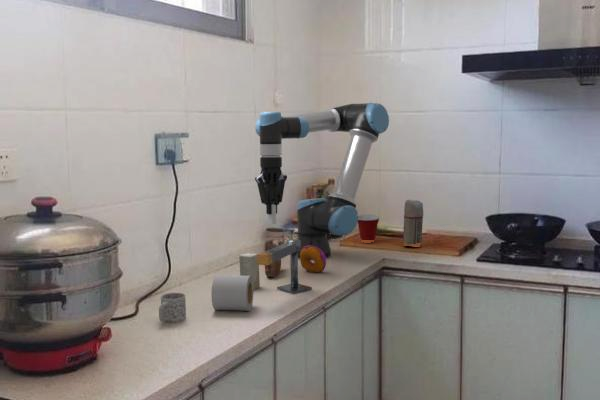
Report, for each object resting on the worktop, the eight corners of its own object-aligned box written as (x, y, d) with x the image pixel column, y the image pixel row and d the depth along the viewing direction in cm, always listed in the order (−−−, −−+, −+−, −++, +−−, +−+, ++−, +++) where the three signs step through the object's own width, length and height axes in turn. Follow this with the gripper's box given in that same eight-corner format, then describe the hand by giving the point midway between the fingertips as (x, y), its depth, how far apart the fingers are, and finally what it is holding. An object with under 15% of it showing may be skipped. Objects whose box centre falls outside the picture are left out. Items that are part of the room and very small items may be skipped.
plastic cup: (352, 244, 280) (352, 217, 279) (358, 239, 290) (358, 213, 289) (377, 245, 277) (377, 218, 275) (382, 240, 287) (382, 214, 285)
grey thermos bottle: (411, 243, 280) (411, 198, 277) (426, 246, 273) (426, 200, 271) (398, 246, 274) (398, 200, 272) (413, 249, 268) (414, 202, 266)
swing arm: (290, 248, 208) (290, 238, 208) (303, 249, 206) (302, 239, 206) (255, 264, 186) (255, 253, 186) (269, 265, 184) (269, 254, 184)
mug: (170, 314, 182) (169, 291, 181) (190, 317, 180) (189, 294, 179) (149, 325, 173) (148, 301, 172) (170, 327, 170) (170, 303, 169)
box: (260, 287, 210) (259, 254, 209) (252, 290, 207) (251, 256, 205) (247, 285, 213) (247, 252, 212) (239, 287, 210) (238, 254, 208)
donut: (317, 268, 235) (317, 242, 234) (328, 274, 227) (328, 246, 226) (297, 270, 232) (297, 243, 231) (307, 276, 224) (307, 248, 223)
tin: (272, 279, 220) (271, 255, 219) (263, 279, 221) (262, 255, 220) (282, 269, 235) (281, 247, 234) (273, 269, 235) (273, 246, 234)
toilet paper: (212, 314, 182) (210, 279, 181) (221, 304, 192) (220, 271, 191) (246, 315, 181) (245, 280, 179) (253, 304, 191) (253, 272, 189)
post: (295, 284, 213) (295, 248, 211) (311, 289, 207) (311, 251, 205) (277, 289, 207) (276, 251, 206) (293, 294, 201) (292, 255, 200)
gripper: (278, 155, 230) (279, 219, 233) (249, 156, 221) (250, 224, 224) (292, 155, 224) (293, 222, 227) (262, 157, 215) (264, 226, 218)
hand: (272, 223), depth 225 cm, fingers closed
